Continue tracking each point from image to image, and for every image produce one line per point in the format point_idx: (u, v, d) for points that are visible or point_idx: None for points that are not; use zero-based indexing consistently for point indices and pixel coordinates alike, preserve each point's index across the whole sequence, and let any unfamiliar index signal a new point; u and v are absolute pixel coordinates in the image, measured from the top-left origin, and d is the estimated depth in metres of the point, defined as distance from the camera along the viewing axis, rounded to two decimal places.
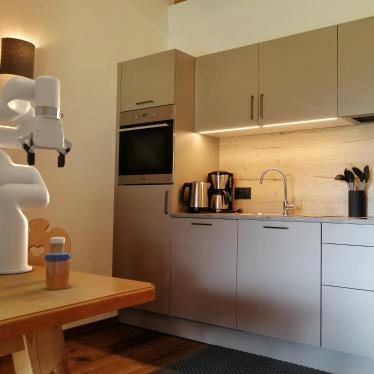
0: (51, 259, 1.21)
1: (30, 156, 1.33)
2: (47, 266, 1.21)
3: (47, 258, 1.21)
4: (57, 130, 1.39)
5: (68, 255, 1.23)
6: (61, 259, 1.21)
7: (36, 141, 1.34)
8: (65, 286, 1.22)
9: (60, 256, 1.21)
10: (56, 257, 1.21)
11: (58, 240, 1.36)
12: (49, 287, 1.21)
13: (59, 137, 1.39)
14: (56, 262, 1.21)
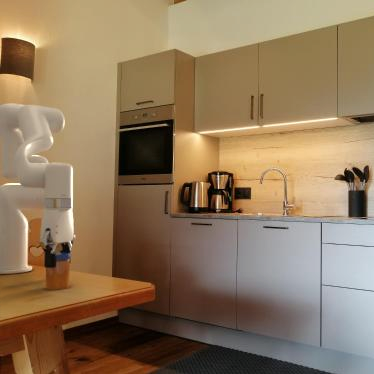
0: None
1: (51, 258, 1.19)
2: None
3: None
4: (70, 222, 1.26)
5: (68, 255, 1.23)
6: (61, 259, 1.21)
7: (55, 238, 1.20)
8: (65, 286, 1.22)
9: (60, 256, 1.21)
10: (56, 257, 1.21)
11: None
12: (49, 287, 1.21)
13: (71, 229, 1.27)
14: (56, 262, 1.21)
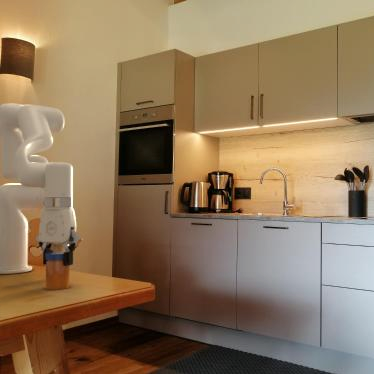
0: None
1: None
2: (47, 266, 1.21)
3: None
4: None
5: None
6: None
7: None
8: (65, 286, 1.22)
9: None
10: None
11: None
12: (49, 287, 1.21)
13: None
14: (56, 262, 1.21)
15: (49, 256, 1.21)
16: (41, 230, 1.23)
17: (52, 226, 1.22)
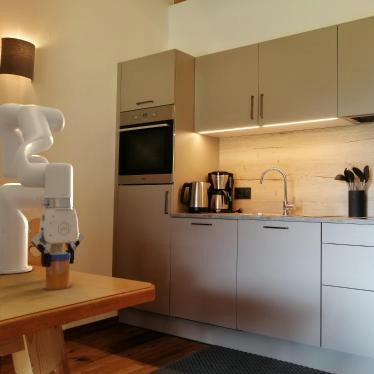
0: None
1: None
2: None
3: None
4: None
5: None
6: None
7: None
8: (65, 286, 1.22)
9: None
10: None
11: None
12: (49, 287, 1.21)
13: None
14: (56, 262, 1.21)
15: (65, 256, 1.22)
16: (52, 231, 1.20)
17: (65, 226, 1.23)
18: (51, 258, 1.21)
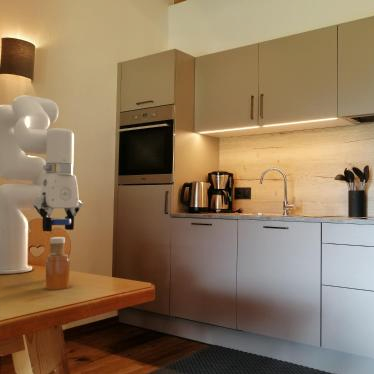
0: None
1: None
2: (47, 266, 1.21)
3: None
4: None
5: None
6: None
7: None
8: (65, 286, 1.22)
9: None
10: None
11: (58, 240, 1.36)
12: (49, 287, 1.21)
13: None
14: (56, 262, 1.21)
15: (66, 221, 1.23)
16: (54, 195, 1.20)
17: (66, 192, 1.24)
18: (53, 223, 1.21)
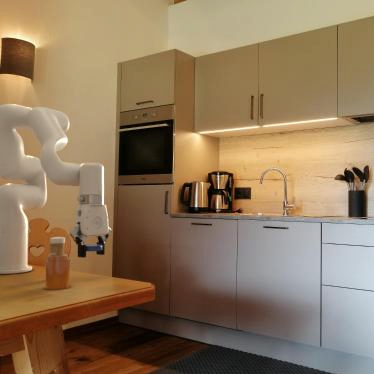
0: None
1: None
2: (47, 266, 1.21)
3: None
4: None
5: None
6: None
7: None
8: (65, 286, 1.22)
9: None
10: None
11: (58, 240, 1.36)
12: (49, 287, 1.21)
13: None
14: (56, 262, 1.21)
15: (99, 247, 1.35)
16: (88, 225, 1.32)
17: (98, 220, 1.36)
18: (87, 249, 1.33)
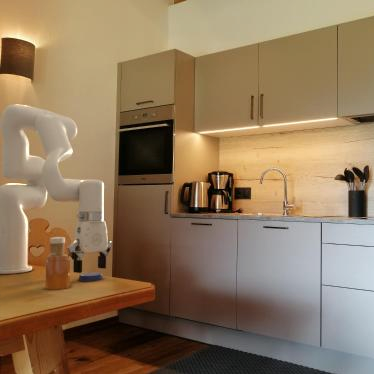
0: None
1: None
2: (47, 266, 1.21)
3: None
4: None
5: None
6: None
7: None
8: (65, 286, 1.22)
9: None
10: None
11: (58, 240, 1.36)
12: (49, 287, 1.21)
13: None
14: (56, 262, 1.21)
15: (98, 276, 1.35)
16: (87, 242, 1.32)
17: (97, 237, 1.36)
18: (86, 279, 1.33)
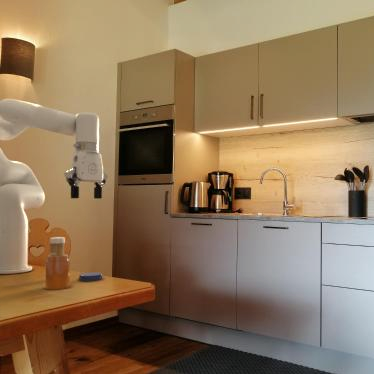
0: None
1: None
2: (47, 266, 1.21)
3: None
4: None
5: None
6: None
7: None
8: (65, 286, 1.22)
9: None
10: None
11: (58, 240, 1.36)
12: (49, 287, 1.21)
13: None
14: (56, 262, 1.21)
15: (98, 276, 1.35)
16: (83, 169, 1.40)
17: (93, 167, 1.44)
18: (86, 279, 1.33)
